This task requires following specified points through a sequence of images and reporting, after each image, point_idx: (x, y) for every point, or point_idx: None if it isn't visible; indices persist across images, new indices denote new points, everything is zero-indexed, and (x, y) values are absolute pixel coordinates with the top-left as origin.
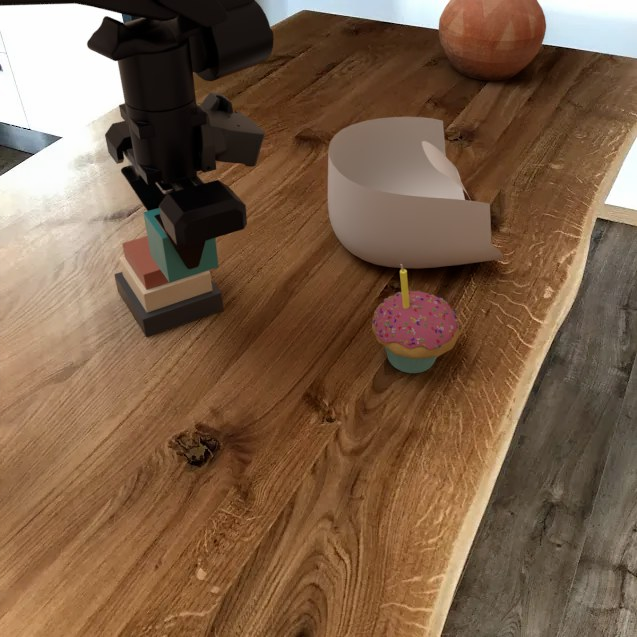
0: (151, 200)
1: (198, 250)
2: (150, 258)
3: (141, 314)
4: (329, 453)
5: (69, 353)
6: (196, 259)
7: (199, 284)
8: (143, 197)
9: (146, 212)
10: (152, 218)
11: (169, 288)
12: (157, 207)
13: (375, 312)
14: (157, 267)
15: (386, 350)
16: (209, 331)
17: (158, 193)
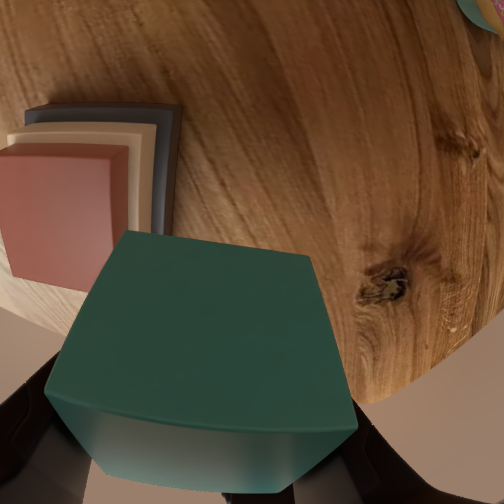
0: (78, 483)
1: None
2: (70, 263)
3: None
4: (492, 191)
5: None
6: None
7: (146, 159)
8: (79, 502)
9: (109, 473)
10: (154, 482)
11: (140, 231)
12: (81, 451)
13: (500, 6)
14: None
15: (484, 23)
16: (220, 158)
17: (60, 489)
